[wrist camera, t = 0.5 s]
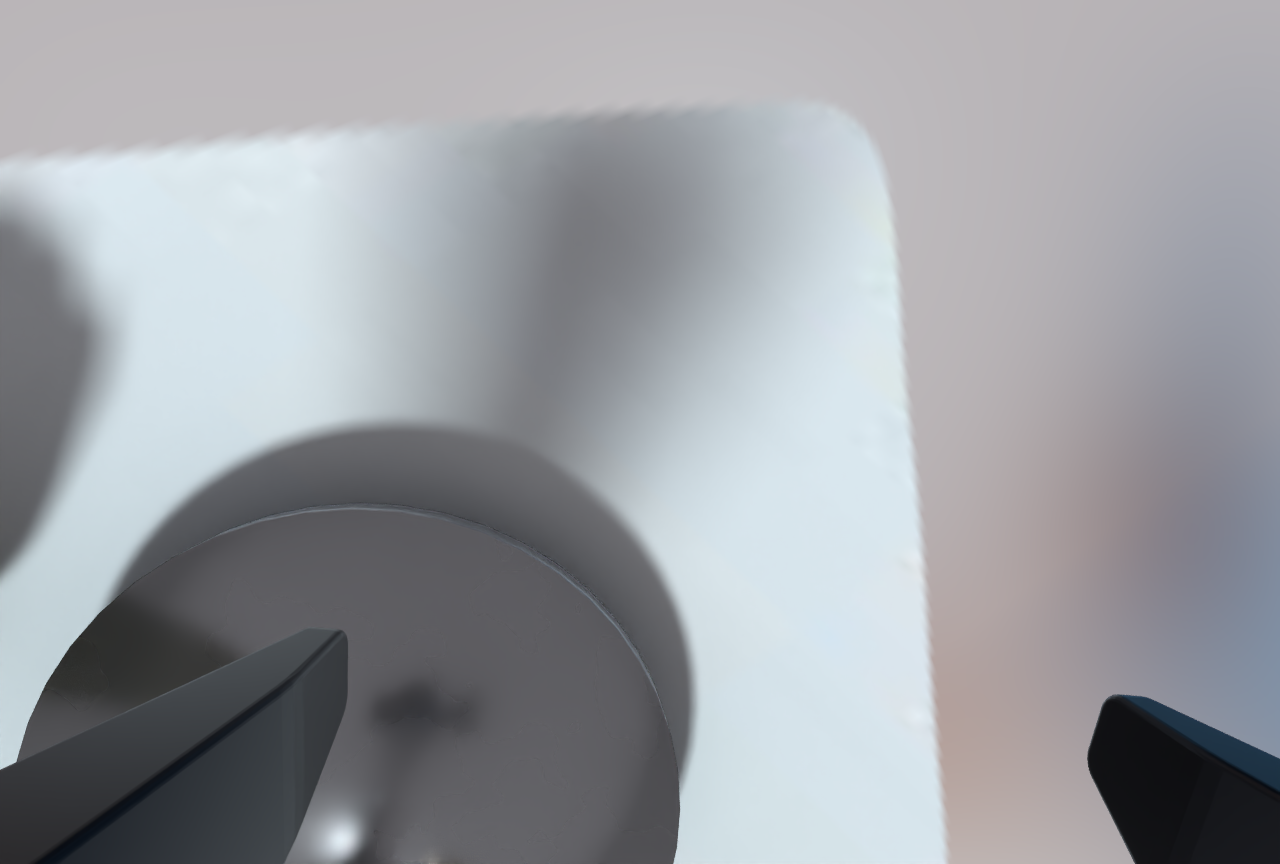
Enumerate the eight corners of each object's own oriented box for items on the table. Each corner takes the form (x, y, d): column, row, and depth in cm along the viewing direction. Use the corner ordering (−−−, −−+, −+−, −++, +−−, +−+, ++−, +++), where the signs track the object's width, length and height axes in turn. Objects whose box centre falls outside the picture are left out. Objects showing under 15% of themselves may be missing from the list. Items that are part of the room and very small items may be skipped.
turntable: (268, 1192, 23) (201, 1391, 19) (-109, 717, 20) (-292, 818, 16) (778, 885, 24) (827, 1007, 19) (478, 384, 21) (456, 394, 17)
